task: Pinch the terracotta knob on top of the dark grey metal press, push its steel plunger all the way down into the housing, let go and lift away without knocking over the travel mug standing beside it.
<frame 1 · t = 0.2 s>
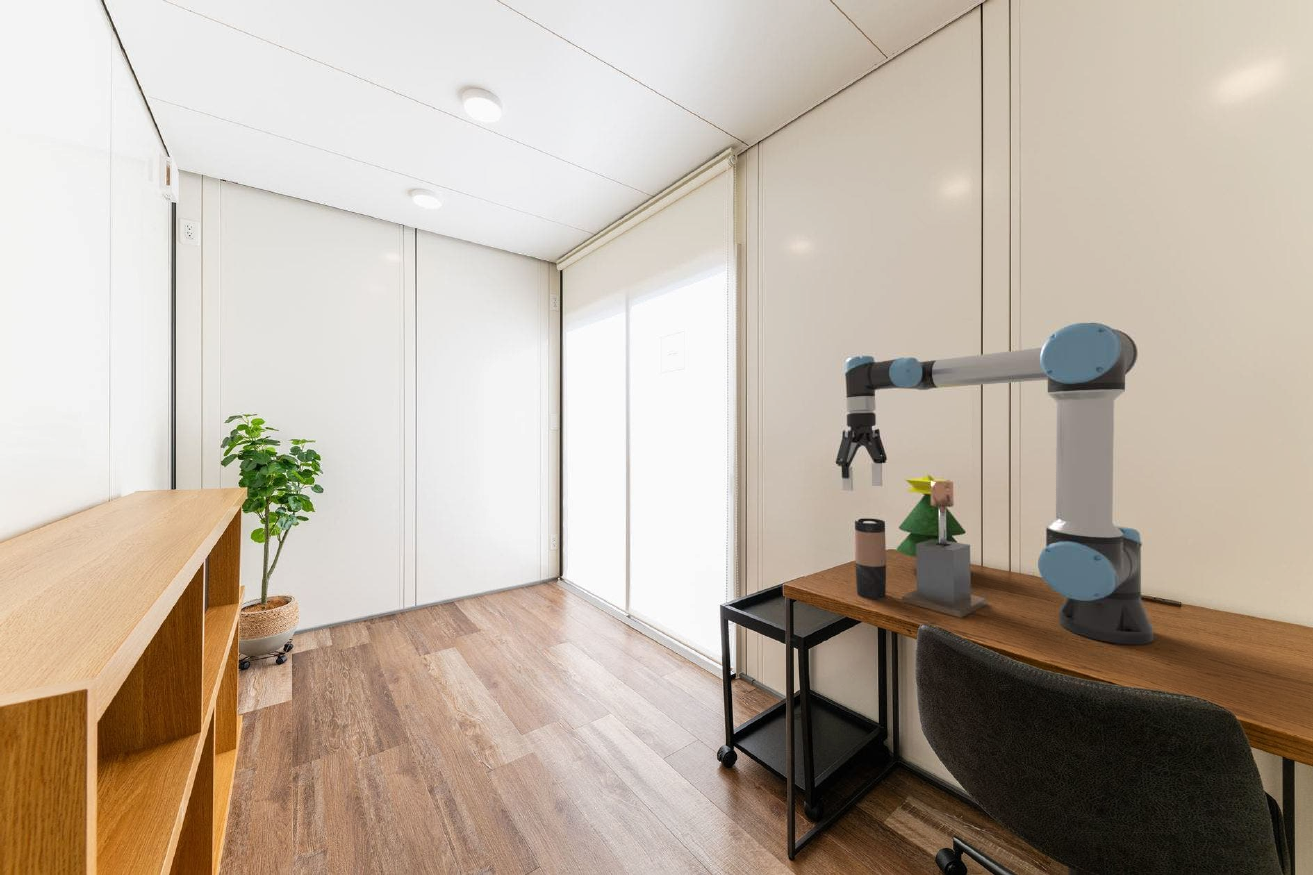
hand: (862, 488, 138), 28 cm above the table, tool pointing down, fingers open, 13 cm apart
travel mug: (871, 595, 133), on the table
plunger: (942, 522, 125), point 20 cm above the table, slide at 0.0 cm
decorative tree: (931, 572, 152), on the table
press housing: (943, 602, 126), on the table
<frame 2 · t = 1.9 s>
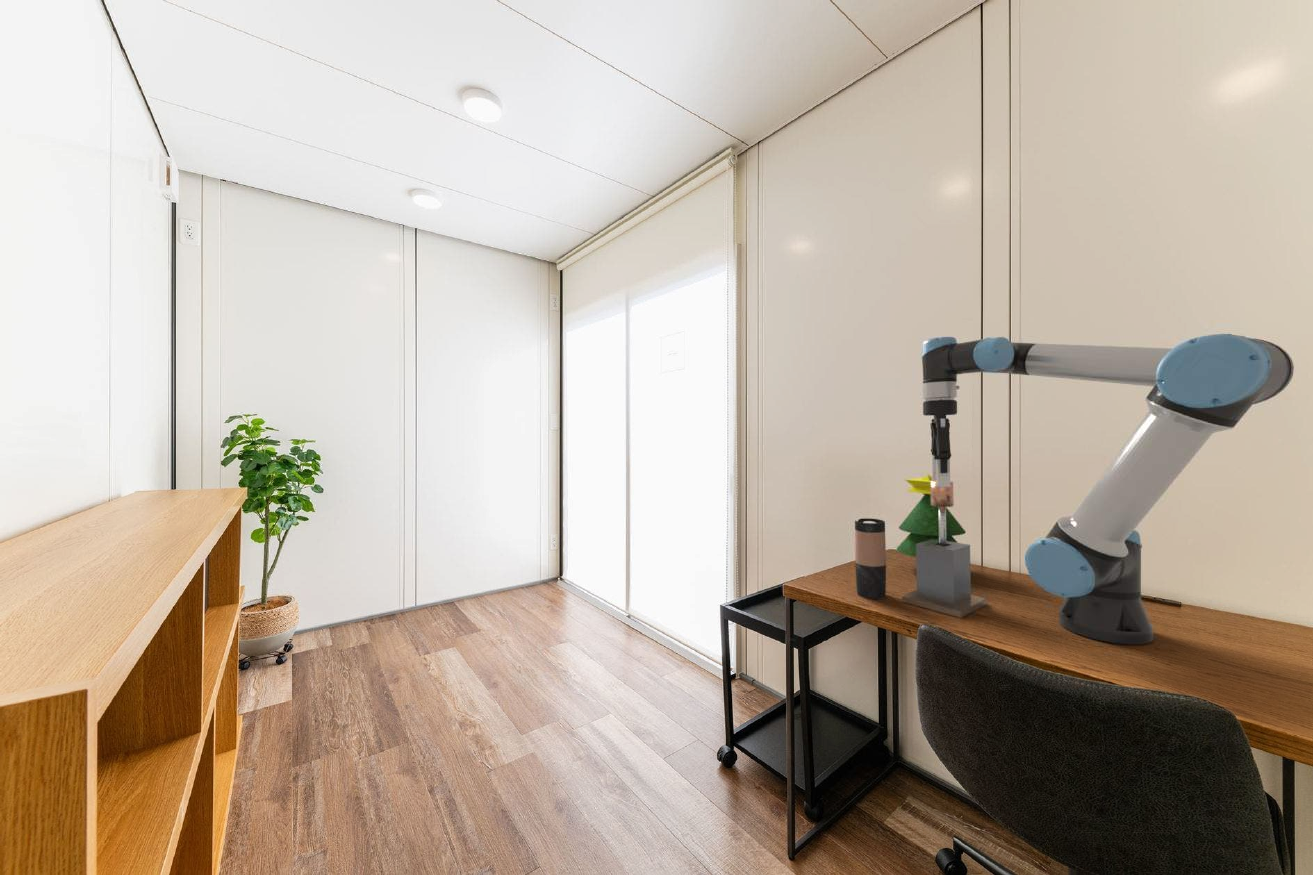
hand: (940, 483, 125), 31 cm above the table, tool pointing down, fingers open, 13 cm apart
nothing on the table moved.
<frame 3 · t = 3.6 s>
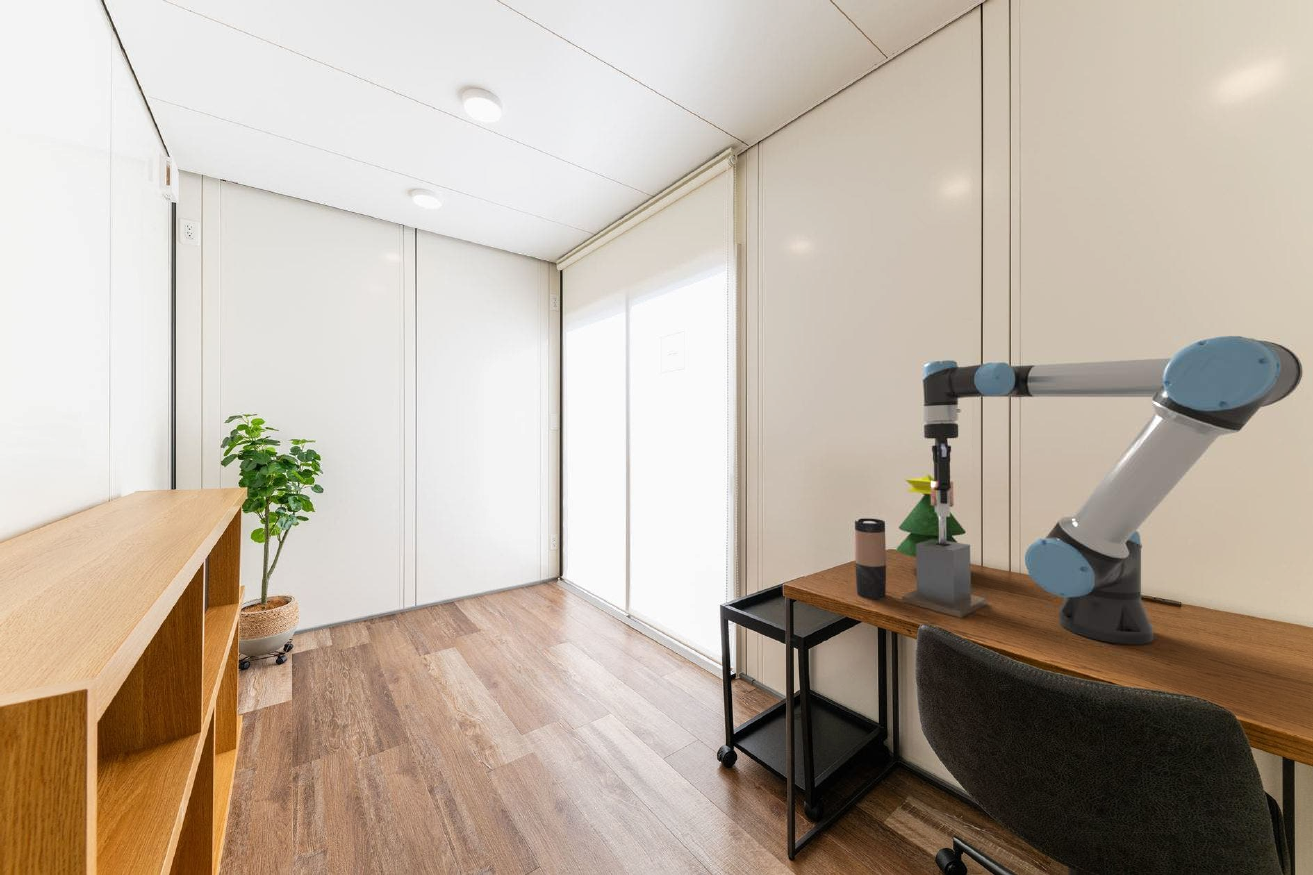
hand: (942, 514, 125), 23 cm above the table, tool pointing down, fingers closed on plunger, 5 cm apart
plunger: (942, 522, 125), point 20 cm above the table, slide at 0.0 cm, touching gripper
everything else where it was.
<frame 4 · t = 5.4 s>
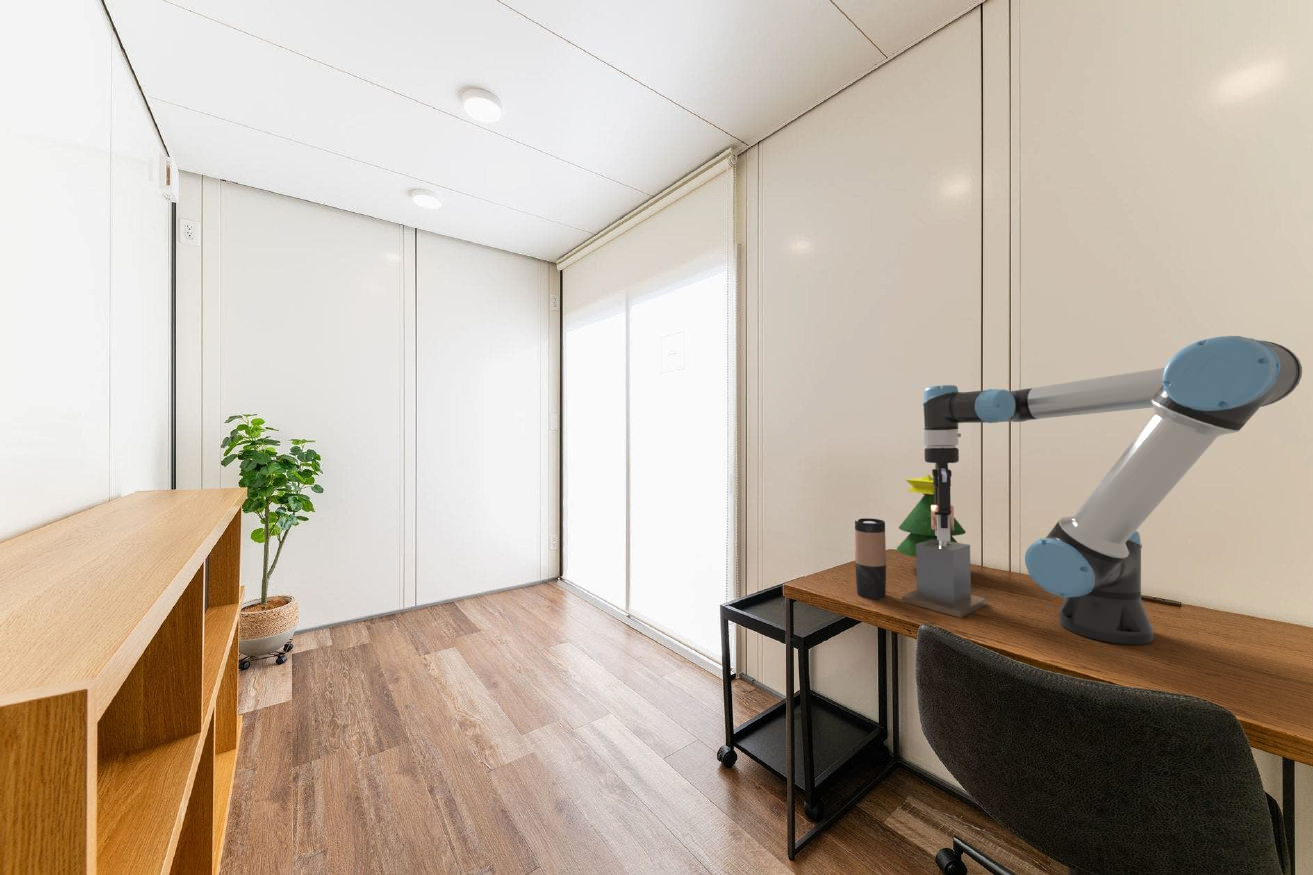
hand: (942, 538, 125), 17 cm above the table, tool pointing down, fingers closed on plunger, 5 cm apart
plunger: (942, 546, 125), point 14 cm above the table, slide at 6.1 cm, touching gripper
everything else where it was.
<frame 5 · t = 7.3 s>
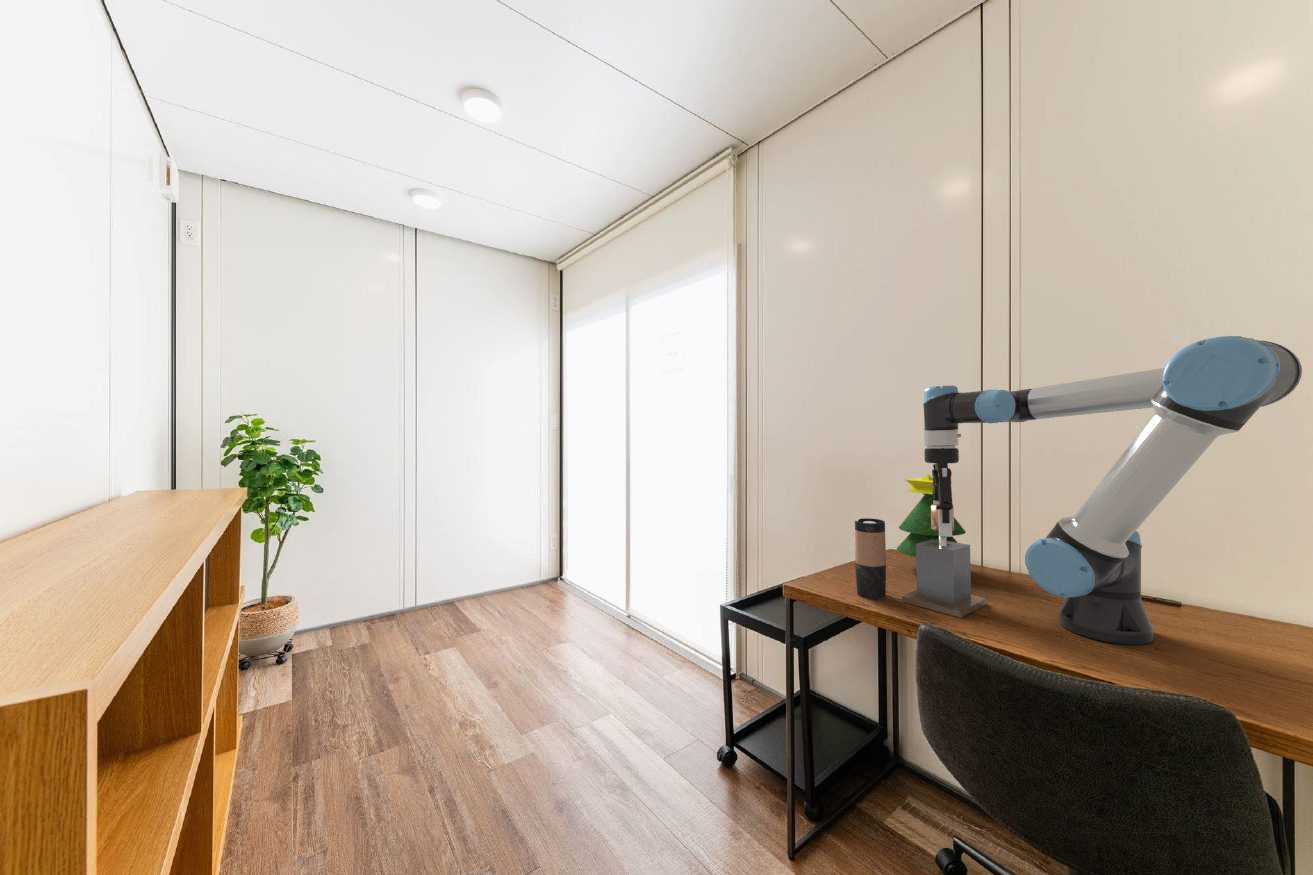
hand: (942, 530, 125), 18 cm above the table, tool pointing down, fingers open, 13 cm apart
plunger: (942, 546, 125), point 14 cm above the table, slide at 6.1 cm
everything else where it was.
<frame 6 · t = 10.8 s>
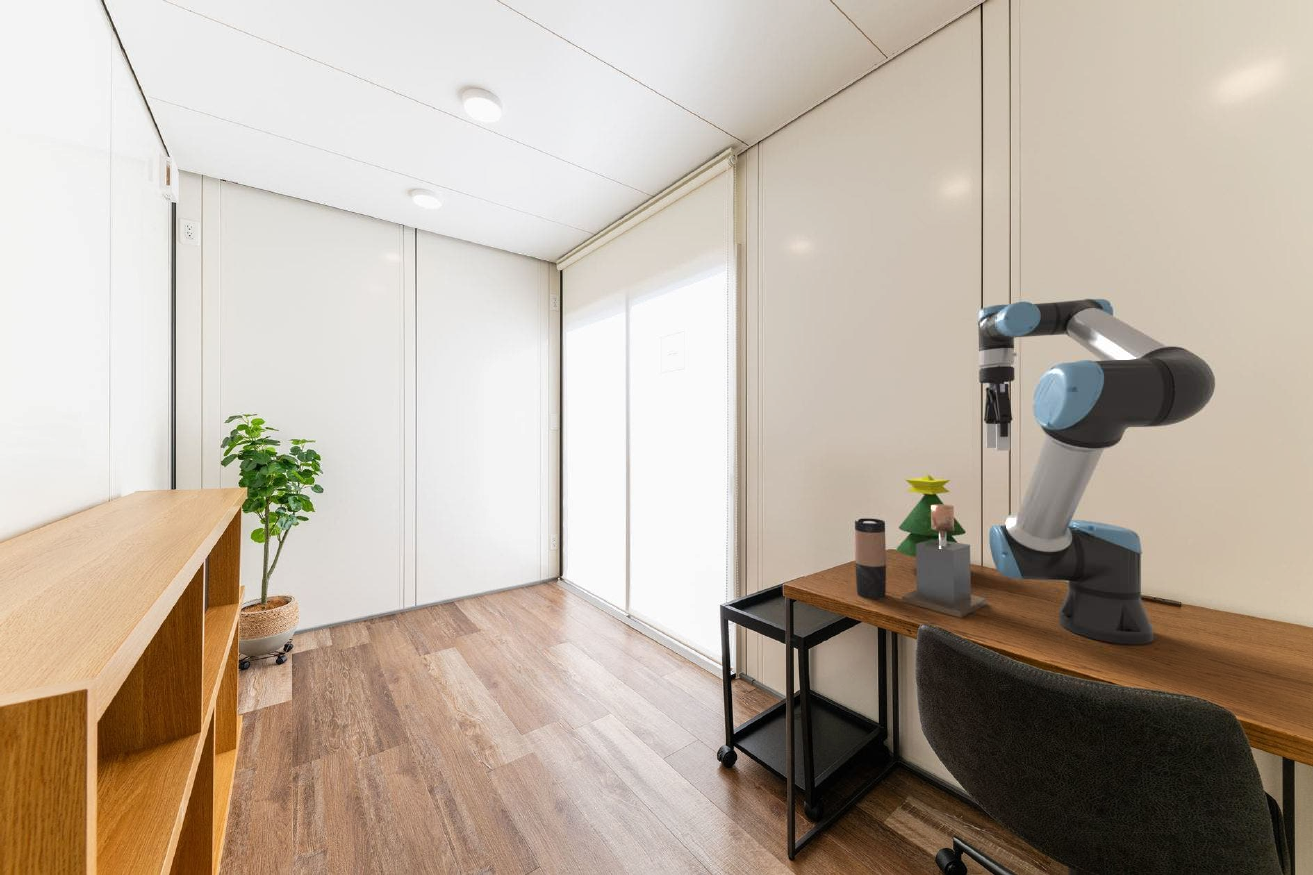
hand: (997, 449, 128), 39 cm above the table, tool pointing down, fingers open, 13 cm apart
nothing on the table moved.
at the end: plunger slide at 6.1 cm; the gripper is holding nothing; travel mug tilted 0° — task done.
